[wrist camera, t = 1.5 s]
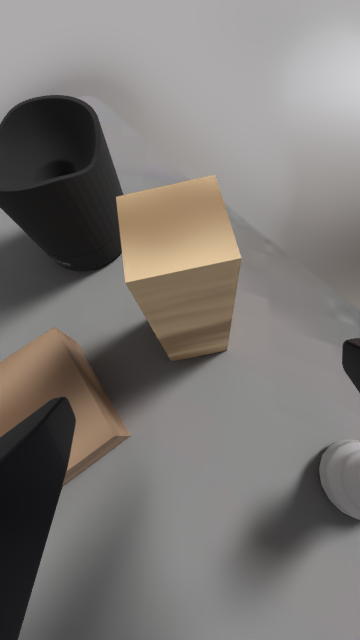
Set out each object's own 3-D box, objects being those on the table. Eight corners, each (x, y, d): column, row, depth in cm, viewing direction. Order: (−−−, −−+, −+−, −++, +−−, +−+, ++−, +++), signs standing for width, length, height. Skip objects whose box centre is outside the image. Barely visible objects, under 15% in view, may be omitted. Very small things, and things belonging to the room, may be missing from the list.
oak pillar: (226, 350, 22) (241, 257, 11) (171, 361, 22) (125, 282, 11) (214, 300, 24) (215, 174, 12) (162, 311, 24) (115, 196, 12)
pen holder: (37, 222, 30) (-42, 126, 20) (119, 187, 30) (77, 79, 21) (58, 291, 26) (-27, 213, 17) (151, 251, 26) (117, 153, 17)
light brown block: (132, 435, 21) (114, 435, 17) (24, 516, 19) (-20, 535, 16) (78, 343, 24) (54, 326, 20) (-16, 407, 23) (-61, 401, 19)
